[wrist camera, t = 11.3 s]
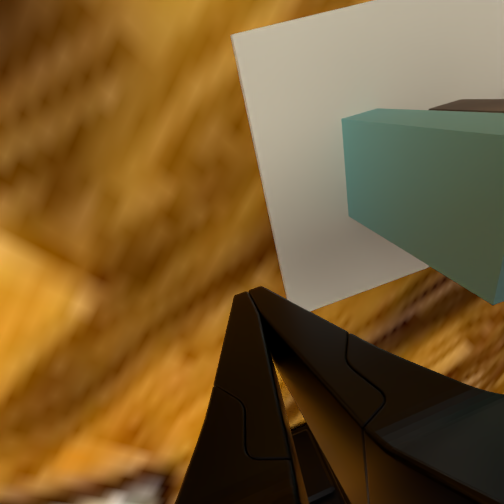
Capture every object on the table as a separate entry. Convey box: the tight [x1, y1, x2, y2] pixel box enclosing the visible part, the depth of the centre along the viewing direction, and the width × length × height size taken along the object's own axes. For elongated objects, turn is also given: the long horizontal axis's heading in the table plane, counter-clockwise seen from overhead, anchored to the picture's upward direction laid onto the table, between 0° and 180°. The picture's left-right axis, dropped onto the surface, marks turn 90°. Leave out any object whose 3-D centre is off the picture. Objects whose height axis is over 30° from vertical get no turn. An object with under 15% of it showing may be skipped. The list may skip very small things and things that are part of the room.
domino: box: [341, 108, 504, 305], centre depth 11 cm, size 2×5×8 cm, turn 13°
